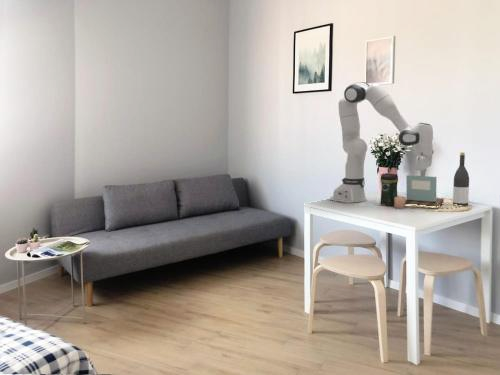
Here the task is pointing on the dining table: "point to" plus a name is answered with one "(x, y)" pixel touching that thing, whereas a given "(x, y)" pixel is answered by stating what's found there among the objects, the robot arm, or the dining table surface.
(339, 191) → the robot arm
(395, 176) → the coffee jar
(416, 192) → the teal display board
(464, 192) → the wine bottle
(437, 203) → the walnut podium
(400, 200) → the peach round lump
